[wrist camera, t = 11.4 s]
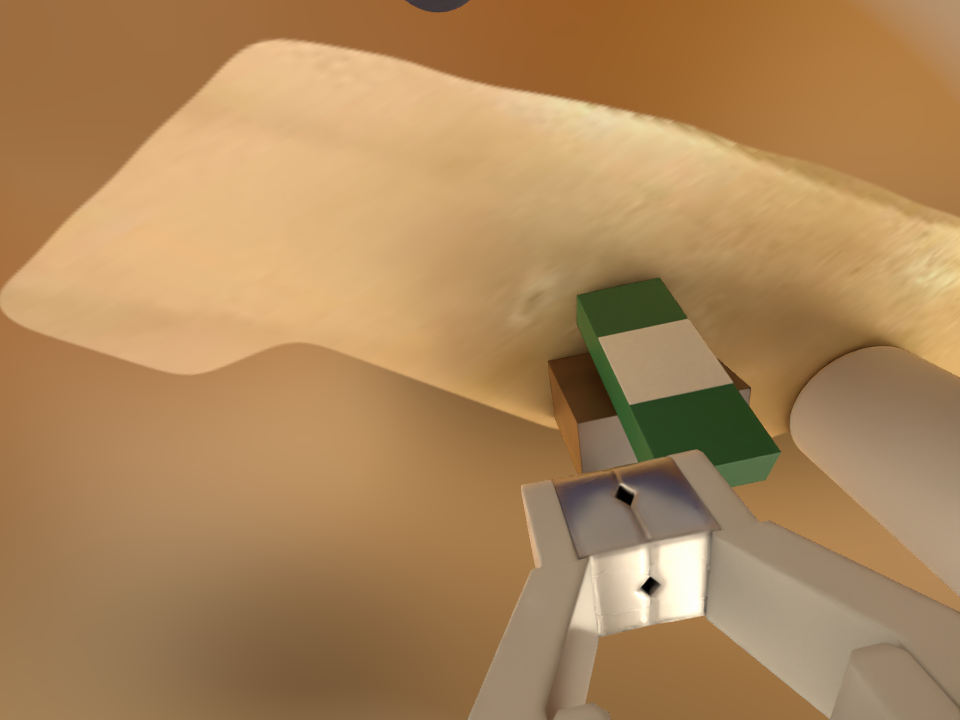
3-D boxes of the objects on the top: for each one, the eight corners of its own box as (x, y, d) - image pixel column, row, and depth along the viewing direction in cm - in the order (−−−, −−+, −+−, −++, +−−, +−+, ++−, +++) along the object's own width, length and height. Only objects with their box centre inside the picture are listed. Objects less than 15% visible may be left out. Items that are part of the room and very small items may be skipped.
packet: (571, 298, 39) (620, 270, 26) (650, 281, 39) (739, 244, 26) (604, 459, 39) (670, 515, 26) (683, 443, 39) (789, 490, 26)
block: (547, 361, 40) (577, 423, 33) (687, 332, 41) (751, 387, 33) (554, 418, 43) (583, 489, 35) (685, 391, 43) (744, 455, 35)
